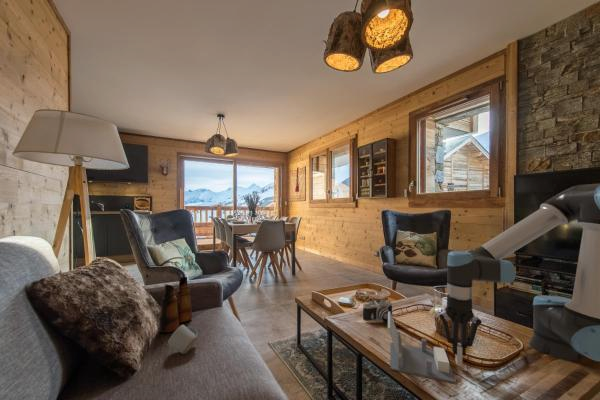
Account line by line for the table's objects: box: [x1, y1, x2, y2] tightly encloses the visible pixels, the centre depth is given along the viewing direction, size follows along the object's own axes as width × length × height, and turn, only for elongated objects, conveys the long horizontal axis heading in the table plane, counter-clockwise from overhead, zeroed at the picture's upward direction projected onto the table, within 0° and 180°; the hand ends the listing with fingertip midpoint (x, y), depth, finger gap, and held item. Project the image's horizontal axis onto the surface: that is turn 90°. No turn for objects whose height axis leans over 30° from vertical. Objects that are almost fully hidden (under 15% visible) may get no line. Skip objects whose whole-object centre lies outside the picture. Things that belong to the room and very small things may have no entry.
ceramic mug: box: [167, 324, 198, 355], centre depth 100 cm, size 11×8×8 cm
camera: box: [362, 298, 393, 323], centre depth 126 cm, size 16×9×10 cm, turn 105°
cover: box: [387, 311, 399, 354], centre depth 97 cm, size 9×14×1 cm
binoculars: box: [158, 276, 193, 334], centre depth 122 cm, size 18×8×20 cm, turn 169°
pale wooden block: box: [433, 346, 450, 373], centre depth 91 cm, size 3×9×3 cm, turn 161°
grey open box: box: [389, 330, 457, 384], centre depth 94 cm, size 20×17×6 cm
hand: (458, 363), depth 90 cm, fingers closed
